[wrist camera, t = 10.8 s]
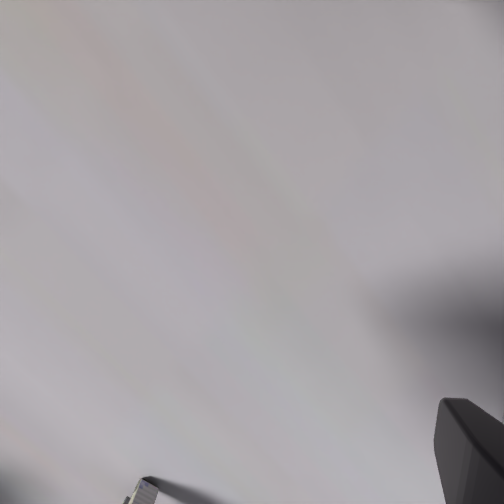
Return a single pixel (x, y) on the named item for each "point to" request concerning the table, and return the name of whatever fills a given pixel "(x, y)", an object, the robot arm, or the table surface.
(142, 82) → the table surface
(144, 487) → the caliper
